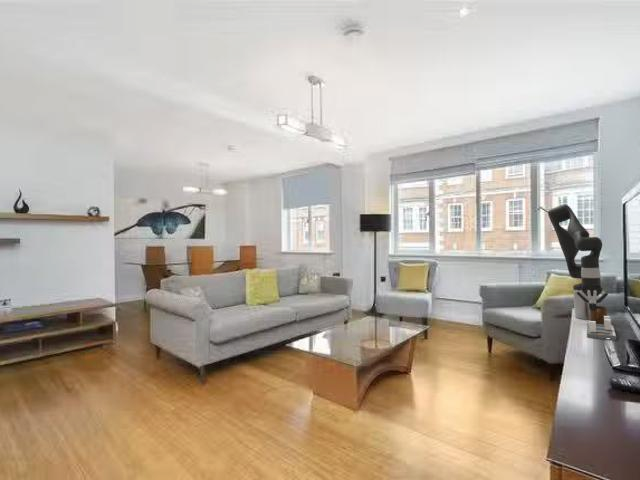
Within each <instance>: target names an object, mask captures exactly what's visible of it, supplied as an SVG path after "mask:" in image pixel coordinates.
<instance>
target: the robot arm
mask: <svg viewBox="0 0 640 480" xmlns="http://www.w3.org/2000/svg"><path fill="white" fill-rule="evenodd" d="M547 214H548V218H549V220H550V222H551V225H552V227H553V229H554V231H555V234H556V237H557V240H558V243H559V246H560V248H561V251H562V253H563V255H564V258H565V262H566V266H567V270H568V274H569V276H570V277H571V278H572V279H578V280H579V279H580V280H581V282H580V283H576V284H574V285H573V286H572V287H573V290H572V291H573V305H574V317H575V318H576V319H582V320H590V310H591V311H595V310H596V306H597V304H598V303H601V302H603V300H604V299H606V298H607V296H608V295H609V293H608V292H606V291H604V290H603V288H602V280H601V271H600V261H599V259H600V255H601V252H602V248H603V242H602V240H601V238H600V237H598V236H591V237H590V233H589V232H588V230H587V229H586V228H585V227H584V226H583V225H582V223H581V222H580V220H579V219H578V217H577V216H576V214H575V212H574V211H573V209H572V208H571V207H570V206H569V205H568V204H561V205H558V206H555V207H553V208H551V209H549V210H547ZM568 220H569V221H568ZM566 221H568V225H567V229H565V228H564V227H562V226H561V225H560V223H563V222H566ZM579 251H580V252H589V254H588V255H584V256H583V255H582V256H581V258H580V263H577V262H576V261H575V259H576V256H577V255H578V253H579ZM600 295H601V296H600ZM598 296H599V298H597V297H598Z"/></svg>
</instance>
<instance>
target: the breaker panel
mask: <svg viewBox="0 0 640 480" xmlns="http://www.w3.org/2000/svg"><path fill="white" fill-rule="evenodd" d="M586 338H590V339H600V340H607V339H606V338H610V339H612V340H611V341H617V334H616V330H615V327H614V325H612V324H611V330H605V326H604V325H602V324H596V332H590V327H589V322H587V324H586Z"/></svg>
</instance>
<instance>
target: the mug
mask: <svg viewBox="0 0 640 480" xmlns="http://www.w3.org/2000/svg"><path fill="white" fill-rule="evenodd" d="M604 316H608V310H607V307H606V306H601V305H596V310H595V311H591V310H590V319H589V321H596V324H602V325H604Z"/></svg>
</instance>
